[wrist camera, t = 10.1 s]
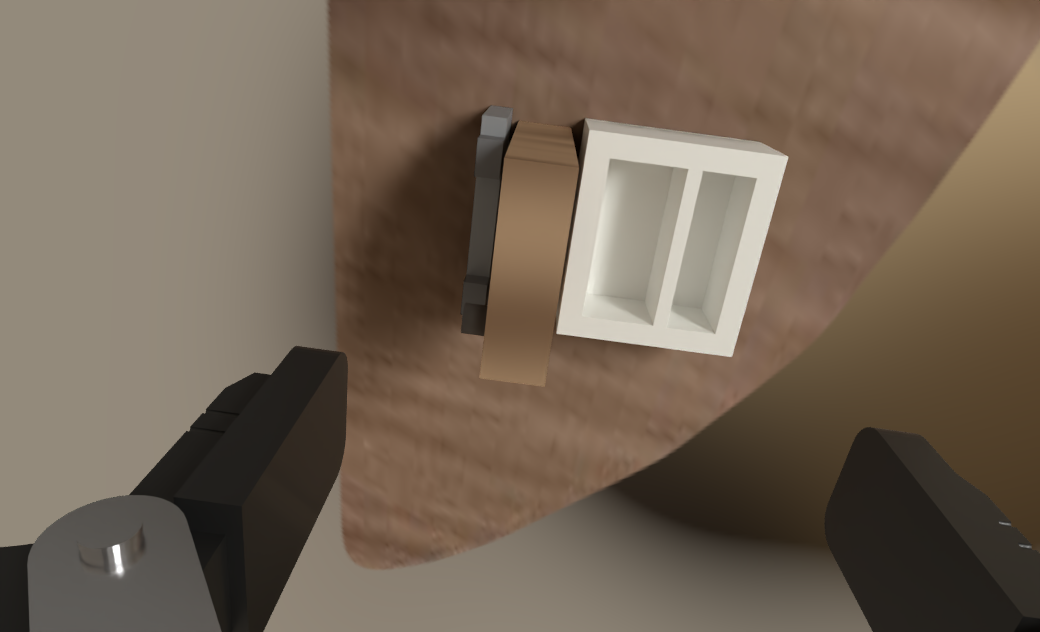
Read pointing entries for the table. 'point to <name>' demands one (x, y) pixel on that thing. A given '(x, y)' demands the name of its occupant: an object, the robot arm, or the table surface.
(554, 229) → the door
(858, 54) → the table surface
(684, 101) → the table surface
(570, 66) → the table surface
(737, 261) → the cabinet
